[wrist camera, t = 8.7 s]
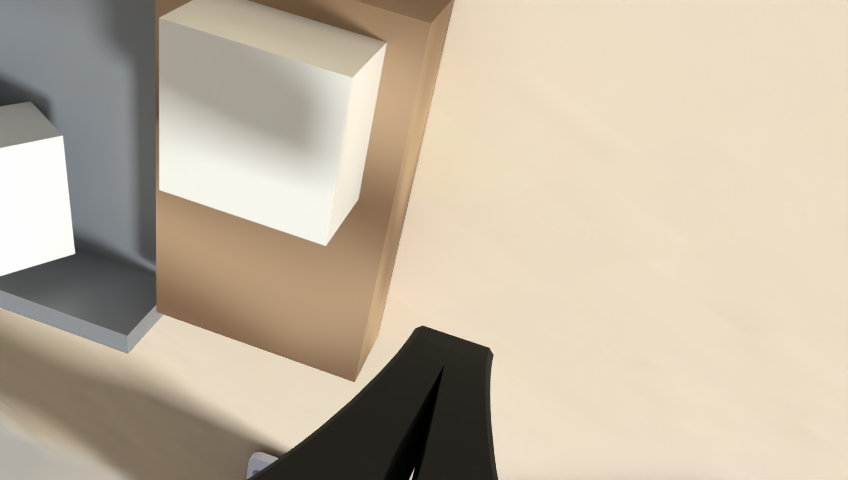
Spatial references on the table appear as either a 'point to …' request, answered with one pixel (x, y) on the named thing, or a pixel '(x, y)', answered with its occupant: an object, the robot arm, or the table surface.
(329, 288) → the ledge
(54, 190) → the tile
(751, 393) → the table surface
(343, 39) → the tile
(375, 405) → the robot arm
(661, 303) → the table surface
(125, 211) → the tray
